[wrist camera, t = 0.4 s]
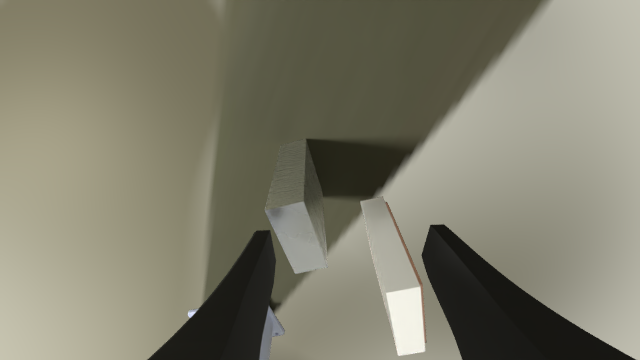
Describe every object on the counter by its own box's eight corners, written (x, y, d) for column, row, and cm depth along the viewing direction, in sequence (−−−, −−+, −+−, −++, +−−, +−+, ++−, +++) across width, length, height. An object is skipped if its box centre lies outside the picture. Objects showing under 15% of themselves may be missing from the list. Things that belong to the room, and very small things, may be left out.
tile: (372, 260, 26) (398, 355, 19) (360, 201, 22) (385, 293, 15) (394, 256, 26) (428, 351, 19) (385, 195, 22) (424, 285, 14)
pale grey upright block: (299, 196, 22) (295, 273, 15) (280, 145, 19) (264, 210, 12) (322, 191, 22) (327, 267, 15) (305, 138, 19) (303, 201, 12)
